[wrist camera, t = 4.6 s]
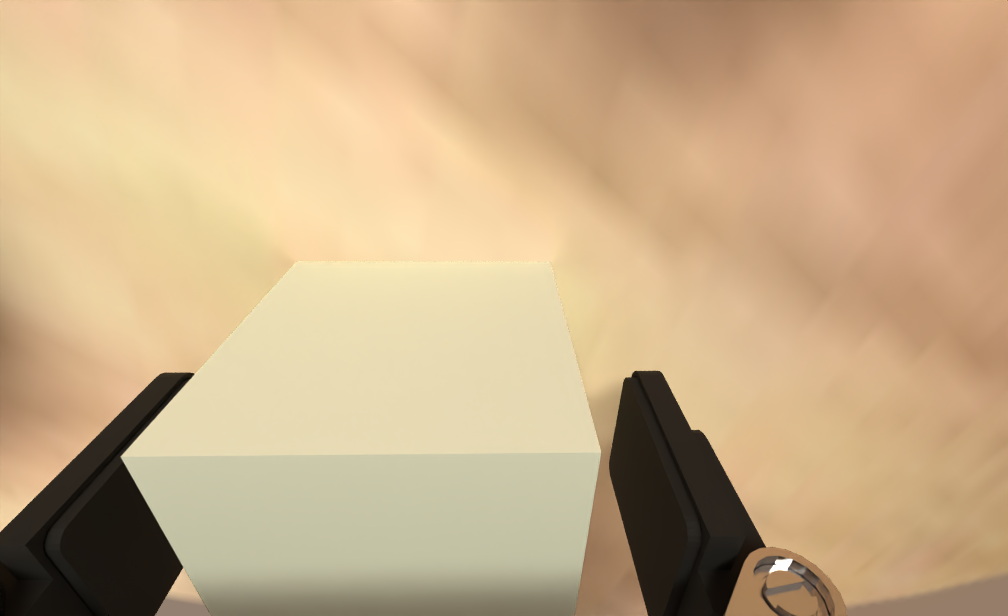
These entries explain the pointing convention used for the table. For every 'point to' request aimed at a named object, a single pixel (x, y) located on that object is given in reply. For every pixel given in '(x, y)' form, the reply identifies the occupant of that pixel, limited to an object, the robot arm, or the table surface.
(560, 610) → the cream cube
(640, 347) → the table surface
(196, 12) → the table surface
